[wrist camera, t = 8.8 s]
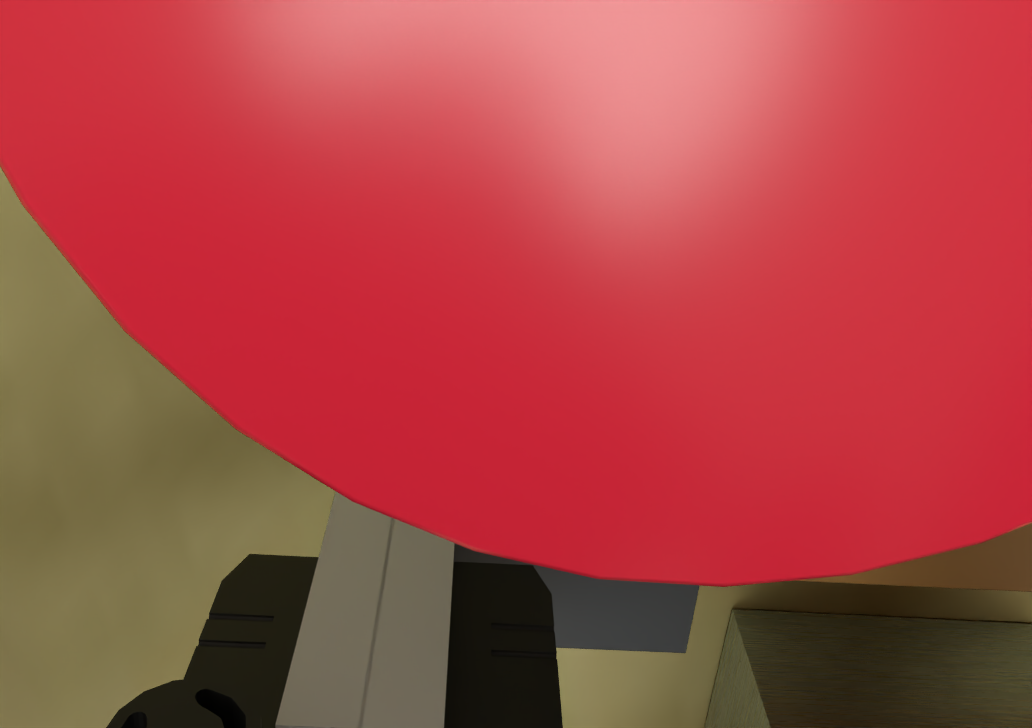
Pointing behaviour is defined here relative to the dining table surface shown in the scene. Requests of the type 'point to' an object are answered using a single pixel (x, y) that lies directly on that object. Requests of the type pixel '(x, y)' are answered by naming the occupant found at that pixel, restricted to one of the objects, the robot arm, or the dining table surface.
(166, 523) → the dining table surface
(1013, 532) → the hammer
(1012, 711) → the block
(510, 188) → the pill bottle
